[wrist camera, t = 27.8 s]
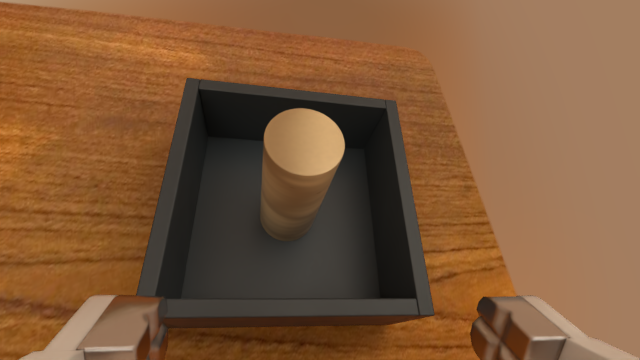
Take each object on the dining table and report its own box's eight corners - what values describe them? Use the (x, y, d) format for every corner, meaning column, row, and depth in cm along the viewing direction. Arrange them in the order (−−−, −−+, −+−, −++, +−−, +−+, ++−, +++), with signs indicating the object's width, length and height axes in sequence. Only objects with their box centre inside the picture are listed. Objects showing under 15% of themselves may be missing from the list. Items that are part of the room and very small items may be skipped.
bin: (368, 148, 27) (396, 100, 22) (389, 324, 21) (435, 315, 15) (200, 135, 25) (186, 77, 20) (165, 328, 18) (130, 318, 13)
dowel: (312, 193, 23) (342, 111, 15) (313, 242, 21) (347, 178, 13) (261, 190, 22) (266, 103, 15) (258, 240, 21) (261, 172, 13)
